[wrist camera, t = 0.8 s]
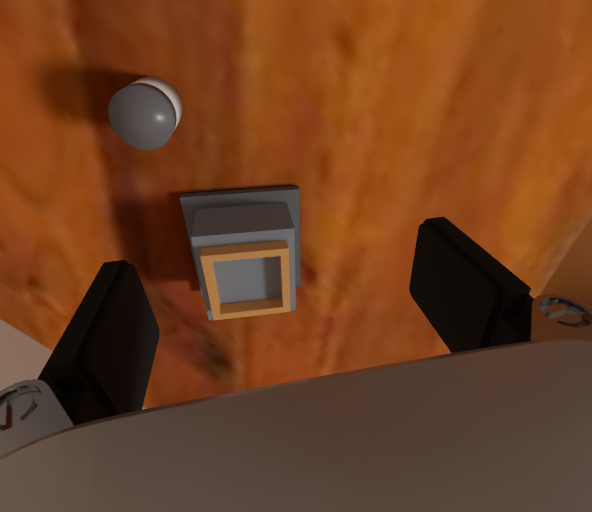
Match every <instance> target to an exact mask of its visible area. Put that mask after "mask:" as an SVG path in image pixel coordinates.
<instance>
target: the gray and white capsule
mask: <svg viewBox="0 0 592 512" xmlns="http://www.w3.org/2000/svg"><path fill="white" fill-rule="evenodd" d="M108 116H109V121H110V123H111V126H112V128H113V130H114V131H115V133H116V134H117V135H118V136H119V137H120V138H121V139H122V140H123V141H124V142H125V143H127V144H128V145H130V146H132V147H135V148H138V149H142V150H153V149H157V148H159V147H161V146H163V145H164V144H165V143H166V142H167V141H168V140H169V138H170V137H171V135H172V133H173V132H174V130H175V128H176V126H177V125H178V123H179V121H180V119H181V116H182V102H181V99H180V97H179V95H178V93H177V91H176V90H175V89H174V88H173V87H172V86H171V85H170V84H169V83H168V82H166V81H164V80H162V79H160V78H157V77H143V78H141V79H139V80H137V81H135V82H133V83H131V84H130V85H128V86H126V87H124V88H122V89H121V90H119V91H117V92H116V93H115V94H114V96H113V97H112V98H111V100H110V103H109V107H108Z"/></svg>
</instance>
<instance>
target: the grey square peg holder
mask: <svg viewBox="0 0 592 512" xmlns="http://www.w3.org/2000/svg"><path fill="white" fill-rule="evenodd" d="M180 202H181V206H182V211H183V215H184V219H185V224H186V228H187V233H188V237H189V242H190V246H191V251H192V255H193V259H194V264H195V268H196V273H197V277H198V282H199V286H200V291H201V295H202V297H204V300H205V304H206V309H207V313H208V318H209V320H212V319H214V320H221V319H230V318H238V317H247V316H256V315H264V314H273V313H282V312H290V311H291V310H296V295H295V287H298V286H300V189H299V186H285V187H271V188H257V189H243V190H229V191H215V192H200V193H186V194H181V195H180Z"/></svg>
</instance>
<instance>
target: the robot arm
mask: <svg viewBox="0 0 592 512" xmlns="http://www.w3.org/2000/svg"><path fill="white" fill-rule="evenodd" d="M530 290H531V288H530V287H529V286H528V285H526V284H525V283H524V282H523V281H522V280H520V279H519V278H518V277H517V276H515V275H514V274H513V273H512V272H511V271H509V270H508V269H507V268H506V267H505V266H503V265H502V264H501V263H500V262H498V261H497V260H496V259H495V258H494V257H492V256H491V255H490V254H489V253H488V252H486V251H485V250H484V249H483V248H481V247H480V246H479V245H478V244H477V243H475V242H474V241H473V240H472V239H471V238H469V237H468V236H467V235H466V234H464V233H463V232H462V231H461V230H460V229H458V228H457V227H456V226H455V225H454V224H452V223H451V222H450V221H449V220H447V219H446V218H445V217H438V218H430V219H426V220H425V221H424V223H423V224H421V225H420V226H419V229H418V236H417V242H416V248H415V255H414V261H413V267H412V274H411V280H410V294H411V296H412V298H413V299H414V300H415V302H416V303H417V305H418V306H419V308H420V309H421V310H422V312H423V313H424V315H425V316H426V317H427V319H428V320H429V322H430V323H431V324H432V326H433V327H434V329H435V330H436V332H437V333H438V334H439V336H440V337H441V339H442V340H443V341H444V343H445V344H446V346H447V347H448V348H449V350H450V351H451V353H450V354H445V355H439V356H433V357H427V358H422V359H416V360H410V361H404V362H399V363H393V364H387V365H382V366H376V367H370V368H365V369H359V370H354V371H348V372H342V373H337V374H331V375H326V376H320V377H315V378H309V379H304V380H298V381H293V382H287V383H282V384H276V385H271V386H265V387H260V388H254V389H249V390H244V391H238V392H233V393H228V394H222V395H217V396H211V397H206V398H201V399H195V400H190V401H185V402H179V403H174V404H169V405H164V406H159V407H154V408H149V409H144V410H142V406H143V402H144V398H145V394H146V390H147V386H148V381H149V377H150V373H151V369H152V365H153V361H154V356H155V352H156V348H157V344H158V340H159V327H158V324H157V321H156V319H155V316H154V314H153V311H152V309H151V306H150V303H149V301H148V298H147V296H146V293H145V291H144V288H143V286H142V283H141V281H140V278H139V276H138V273H137V270H136V268H135V266H134V265H133V264H128V262H127V261H126V260H120V261H112V262H105V263H104V264H103V265H102V267H101V268H100V270H99V272H98V274H97V275H96V277H95V279H94V281H93V282H92V284H91V286H90V288H89V290H88V291H87V293H86V295H85V297H84V298H83V300H82V302H81V304H80V305H79V307H78V309H77V311H76V312H75V314H74V316H73V318H72V319H71V321H70V323H69V325H68V326H67V328H66V330H65V332H64V333H63V335H62V337H61V339H60V340H59V342H58V344H57V346H56V347H55V349H54V351H53V353H52V354H51V356H50V358H49V360H48V362H47V363H46V365H45V367H44V368H43V370H42V372H41V374H40V375H39V377H38V379H37V380H36V379H34V380H25V381H22V382H19V383H15V384H13V385H11V386H9V387H7V388H5V389H3V390H1V391H0V512H592V309H591V308H590V307H588V306H587V305H585V304H584V303H582V302H580V301H578V300H576V299H573V298H570V297H567V296H563V295H557V294H544V295H539V296H537V297H536V298H534V299H533V298H532V297H531V296H530V295H529V292H530Z"/></svg>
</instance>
